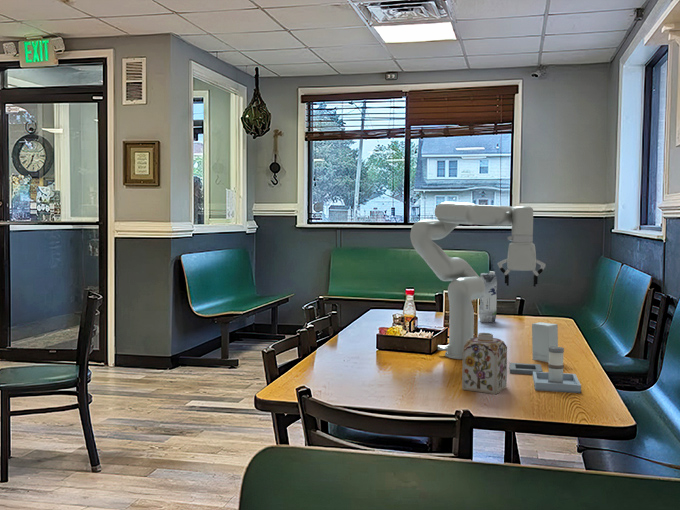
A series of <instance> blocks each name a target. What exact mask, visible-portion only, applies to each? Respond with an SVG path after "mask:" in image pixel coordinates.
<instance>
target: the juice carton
mask: <svg viewBox="0 0 680 510" xmlns="http://www.w3.org/2000/svg"><path fill="white" fill-rule="evenodd" d="M479 277H480V278H481V279H482V281H483V283H484V285H485V292H484V294H483V296H482V297H480V298H479V299H480V305H479V304H478V317H479V321H480V323H488V322H494V323H495V322H496V319H497V303H498V302H497V301H498V299H497V296H498V294H497V293H498V279H497V274H496V271H491V270H489V272H480V276H479ZM479 299H478V300H479Z"/></svg>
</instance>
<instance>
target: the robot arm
mask: <svg viewBox="0 0 680 510" xmlns="http://www.w3.org/2000/svg"><path fill="white" fill-rule="evenodd" d="M434 216H435V218H436V219H422V220H419V221H416V222H414V224H413V225H412V227H411V230H410V235H409V236H410V242H411V245H412V247H413V249H414V250H415V252H416V253H417V254H418V255H419V256H420V257H421V259H423V261H425V262H424V263H426V264H427V265H428V267H429V268H430V269H431V270H432V272H433V273H434V274H435V276H436V277H437V278H438V279H439V280H440V281H442V282H450V283H449V284H448V286H447V297H448V303H449V304H448V305H449V307H448V308H449V326H448V327H449V331H448V333H449V334H448V335H449V336H448V337H449V338H448V344H446V345H442V344H438V345H437V350H438V351H440V352H441V351H442V352H444V351H445V352H444V356H445V357H446V358H449V359H453V360H463V348H464V346H465V344H466V342H467V340H468V339H471V338H474V336H475V335H474V329H475V328H474V327H475V320H474V319H475V317H474V315H475V311H474V305H473V301H474V300H479V298H480V297H482V296H483V294H484V292H485V285H484V283H483V281H482V279H481V278H480V276H479V275H478V273H477V272H476V271H475V270H474V269H473V268H472V266H471V264H469V263H468V261H466V260H465V259H463V258H461V257H458V256H457V257H453V256H450V255H448V254H447V253H446V252H445V251H444V250H443V248H442V247H441V246H439V245H438V244H437V243H435V241H437V240H442V239H444V238H446V237H447V236H448V235H449V234H451V232H453V231H454V229H456V228H457V227H458V226H459V225H470V226H472V225H479V226H488V227H489V226H492V227H500V226H501V227H506V226H507V227H508V226H511V235H509V236H507V241H511V242H510V243H509V244H508V249H507V250H508V251H507V258H505V259H503V260H501V261H499V262H497V266H498V268H499V270H500V272H502V274H503V275H504V284H506V286H507V287H508V286H509V283H510V279H509V278H510V275H509V273H511V271H523V272H525V271H526V272H527V271H528V272H530V271H532V273H533V276H532V277H533V279H532V280H533V281H532V282H533V283H532V284H533V285H532V286H533V287H534V288H535V287H537V285H538V284H539V283H538V282H539V281H538V280H539V279H538V276H539V275H540V274H541V273H542V272H543V271H544V269H545V268H546V265H547V264H546V263H544V262H543V261H541V260H539V259H537V253H536V246H535V245H536V244H535V243H533V240H534V239H533V238H534V237H533V236H534V235H533V234H534V209H533V207H531V206H524V205H523V206H519V205H518V206H511V205H489V204H488V205H484V204H475V203H473V202H461V201H443V202H440V203H438V204H437V205H436V206H435V208H434ZM504 264H506V266H507V267H506V269H505V268H504V267H503V265H504ZM537 264H538V265H539V266H540V268H539V269H538V270H536V267H537Z"/></svg>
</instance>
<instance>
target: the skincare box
mask: <svg viewBox="0 0 680 510" xmlns="http://www.w3.org/2000/svg"><path fill="white" fill-rule="evenodd" d="M558 326H559V325H558V324H557V323H549V322H543V321H542V322H541V321H539V322H535V323H534V322H533V323H532V324H531V331H532V332H531V333H532V334H531V336H532V338H531V342H532V346H531V347H532V348H531V349H532V350H531V351H532V360H533V361H539V362H544V363H548V364H549V347H559V333H558V331H559V330H558V329H559V327H558Z"/></svg>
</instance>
